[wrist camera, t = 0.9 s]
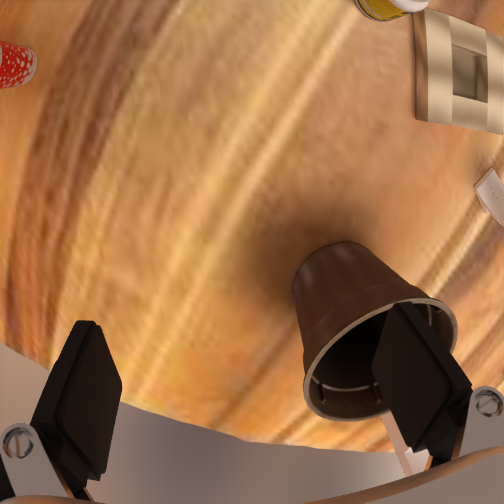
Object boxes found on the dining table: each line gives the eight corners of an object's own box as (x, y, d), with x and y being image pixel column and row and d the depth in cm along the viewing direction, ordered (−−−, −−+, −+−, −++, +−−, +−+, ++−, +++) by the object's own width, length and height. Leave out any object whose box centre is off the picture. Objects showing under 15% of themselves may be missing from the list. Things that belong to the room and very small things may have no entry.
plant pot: (309, 204, 36) (366, 279, 22) (412, 245, 40) (483, 316, 25) (257, 317, 42) (274, 417, 28) (356, 338, 46) (396, 422, 32)
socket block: (412, 10, 26) (423, 7, 23) (490, 38, 27) (502, 38, 24) (415, 119, 32) (427, 121, 30) (491, 131, 33) (503, 135, 31)
